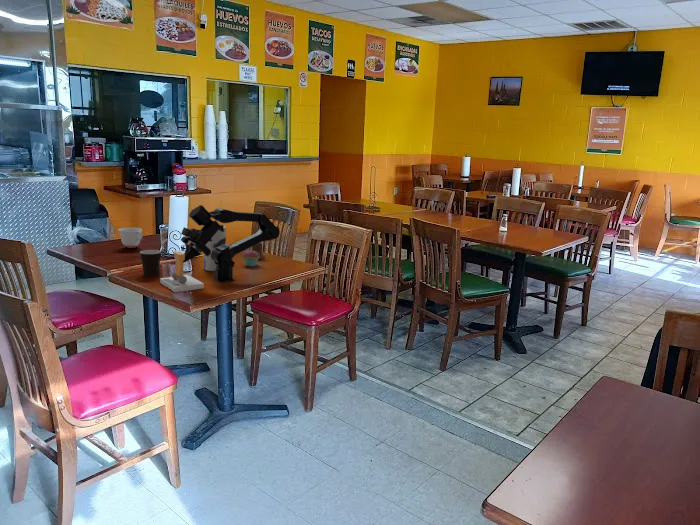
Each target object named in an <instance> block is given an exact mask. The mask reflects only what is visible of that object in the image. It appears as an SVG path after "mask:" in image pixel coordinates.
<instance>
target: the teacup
mask: <svg viewBox="0 0 700 525" xmlns="http://www.w3.org/2000/svg"><path fill="white" fill-rule="evenodd" d="M117 230H118V232H119V235H120V240H121V244H122V245H123V246H124V247H126V246H129V247H130V246H131V247H132V246H137V247H138V245H140V243H141V240H142V239H143V236H144V235H143V232H142V231H143V229H142V228H141V227H129V226H128V227H122V228H121V227H120V228H118V229H117Z"/></svg>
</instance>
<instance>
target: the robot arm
mask: <svg viewBox="0 0 700 525" xmlns="http://www.w3.org/2000/svg"><path fill="white" fill-rule="evenodd" d="M188 217H189V218H190V219H191V220H192V221H194V223H196V224H197V225H198V226H202V227H201V228H200V229H196V228H193V227H192V228H187V227H185V226H183V228H182V231H181V233H180V235H182V237H181V238H180V241H181V242H182V243H183V244H184V245H185V250H184V253H183V254H185V260H183V264H184V263H185V262H188V261H191V259H192V260H193V259H194V258H197V257H199V256H202V253H203V256H204V255H205V256H207V257H208V256H209V255H210V254H211V259H212V260H213V261H214V262H215V264H216V265H218V266H216V269H215V271H214V280H216V281H218V282H220V283H223V282H230V281H235V278H234V277H233V271H234V270H233V268H234V266H235V263H236V262H235V261H234V260H233V258H235V256H237V255H238V254H240V253H241V252H244V251H247V250H246V249H248V248H250V247H252V246H254V245H256V244H258V243H260V242H261V243H262V242H266V241H267V242H268V241H271V240H272V241H273V240H275V239H278V238H279V236H280V233H281V231H280V230H281V229H280V228H279V227H278V226H276V225H275V224H274V223H273V222H272V221H271V220H270V219H269V218H268V216H267V215H266V214H265V213H261V212H249V211H248V212H245V211H232V210H229V209H226V208H225V209H224V208H221V207H218V208H215V209H214V210H212V211H208V210H207V209H206V208H205V206H204V205H202V204H200V205H198V206H196V207H195V208H193V209H191V211H190V212H189V214H188ZM212 219H213V220H212ZM234 222H249V223H250V222H251V223H252V222H254V223H257V225H258V227H259V229H258V230H257V232H255V233H254V234H251V235H248V236H247V237H245V238H243V239H241V240H239V241H236V242H235V243H233V244H231V245H227V244H226V245H224V244H222V245H220V246H218V247H215V249H214V250H213V251H212V253H211V250H210V249H209V248H208V247H207V246H206V244H207V243H208V242H209V241H210V242H211V241H212V239H211V238H212V237H213V236H214V235H215V234H216V232H217V231H218V230H219V231H222V232H224V228H223V227H224V226H225V225H223V224H229V223H234ZM221 223H222V224H221Z"/></svg>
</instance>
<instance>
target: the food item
mask: <svg viewBox="0 0 700 525" xmlns="http://www.w3.org/2000/svg"><path fill="white" fill-rule="evenodd" d="M249 250H250V251H251V247H250V248H248V249H246V250H245V251H249ZM252 251H256V252H258V253H259V255H260V258H259V259H262V258H263V243H262V242H260V243H258V244H256V245H254V246H252Z"/></svg>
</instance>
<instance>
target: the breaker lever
mask: <svg viewBox="0 0 700 525" xmlns="http://www.w3.org/2000/svg"><path fill="white" fill-rule="evenodd" d="M173 258H174V259H175V272H176V275H175V277H176V278H177V279H178V280H179V277H180V276H184V263H183V260H185V254H184V253H183V252H181V251H174V253H173Z"/></svg>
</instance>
